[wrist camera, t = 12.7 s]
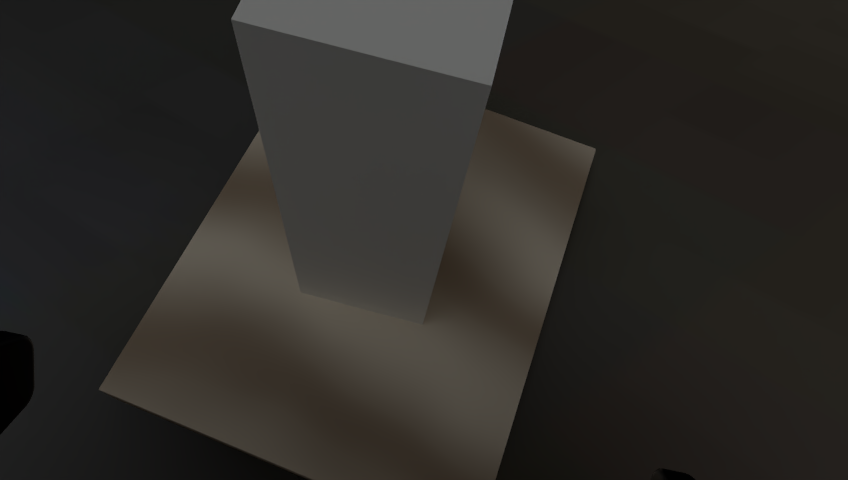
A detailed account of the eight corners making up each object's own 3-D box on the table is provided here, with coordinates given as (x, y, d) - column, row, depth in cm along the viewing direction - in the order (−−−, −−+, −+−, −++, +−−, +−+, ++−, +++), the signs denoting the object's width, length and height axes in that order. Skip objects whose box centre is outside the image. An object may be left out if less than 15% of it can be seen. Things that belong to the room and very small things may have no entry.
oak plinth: (467, 546, 20) (474, 547, 19) (115, 398, 21) (98, 389, 20) (584, 168, 27) (595, 149, 26) (313, 69, 28) (311, 46, 27)
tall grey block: (422, 325, 22) (491, 86, 10) (300, 292, 22) (231, 19, 10) (450, 217, 24) (534, -87, 12) (338, 187, 24) (315, -142, 12)
